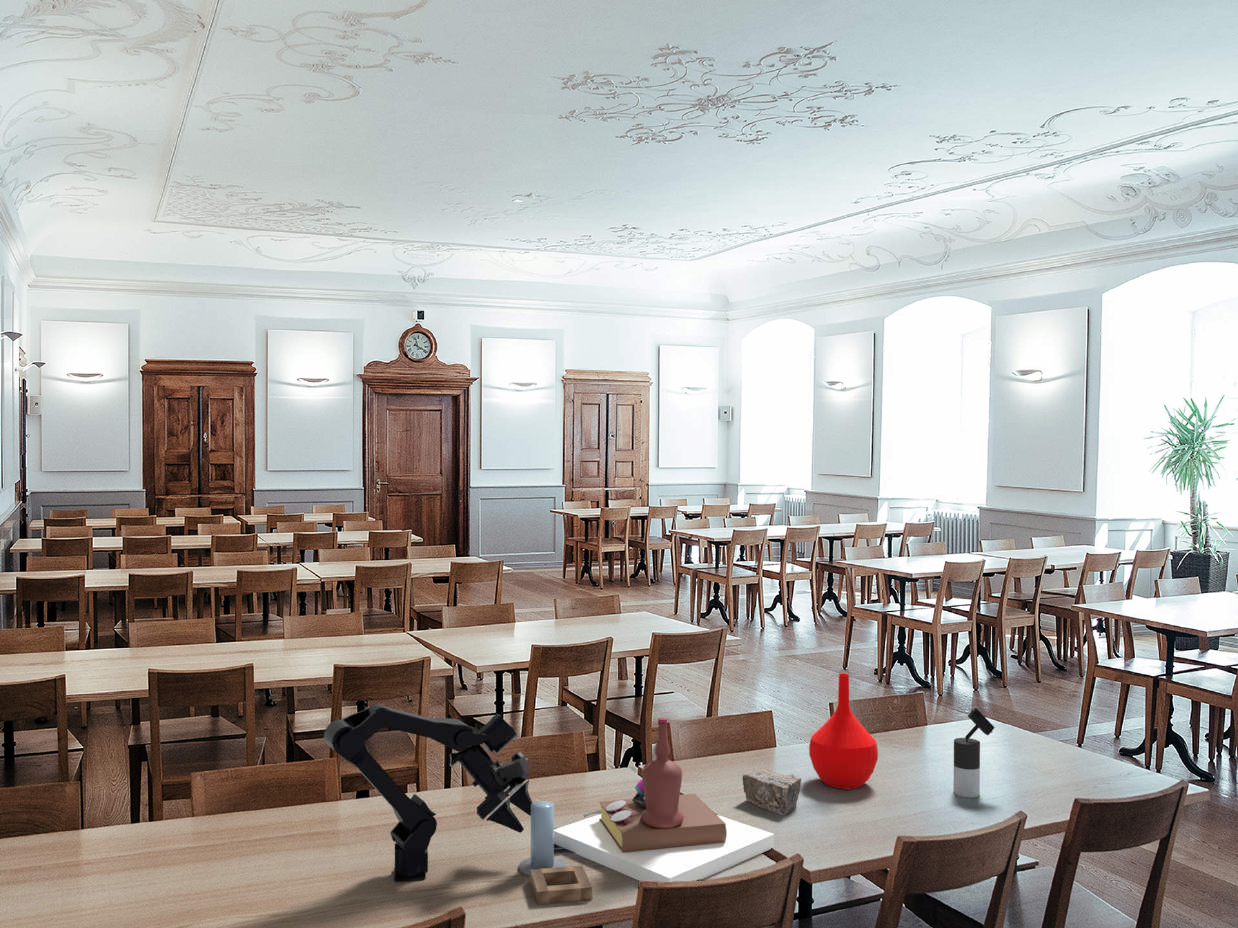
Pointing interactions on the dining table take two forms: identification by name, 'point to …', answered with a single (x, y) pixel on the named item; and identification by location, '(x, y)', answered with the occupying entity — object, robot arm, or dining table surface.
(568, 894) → the pocket block
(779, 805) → the stone block
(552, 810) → the pale blue cylinder
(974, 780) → the track light
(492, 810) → the robot arm
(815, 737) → the vase
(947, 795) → the dining table surface
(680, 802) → the decorative still life
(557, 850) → the black cell phone
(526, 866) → the coaster
